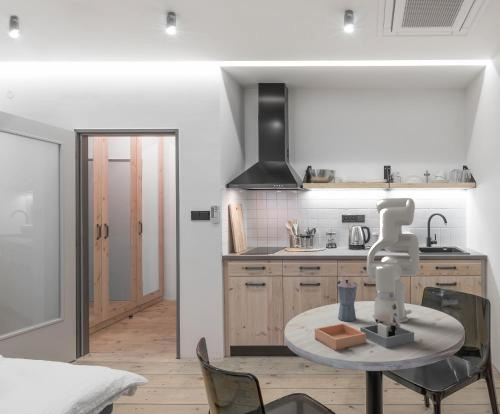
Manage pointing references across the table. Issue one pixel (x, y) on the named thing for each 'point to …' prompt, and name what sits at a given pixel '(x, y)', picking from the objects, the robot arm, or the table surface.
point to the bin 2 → (400, 338)
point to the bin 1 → (339, 336)
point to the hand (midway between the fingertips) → (386, 337)
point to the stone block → (383, 329)
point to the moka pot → (346, 301)
